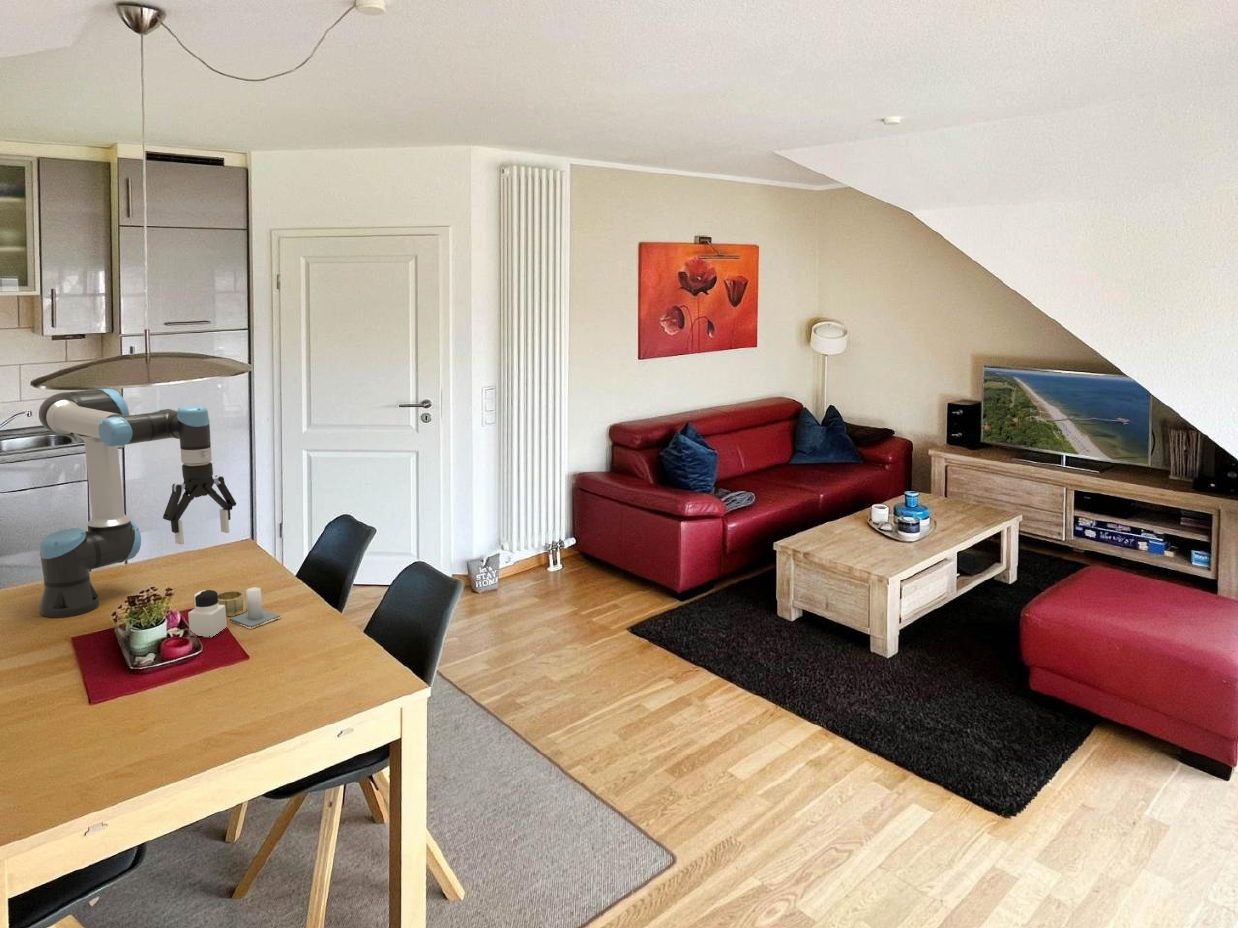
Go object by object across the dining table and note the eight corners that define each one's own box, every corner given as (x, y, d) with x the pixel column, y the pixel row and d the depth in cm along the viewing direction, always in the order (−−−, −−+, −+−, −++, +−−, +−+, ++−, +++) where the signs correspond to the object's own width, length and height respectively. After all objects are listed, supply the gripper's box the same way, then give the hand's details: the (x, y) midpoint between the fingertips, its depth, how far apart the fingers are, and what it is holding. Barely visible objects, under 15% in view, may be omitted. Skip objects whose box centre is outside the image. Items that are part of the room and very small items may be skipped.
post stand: (229, 621, 257) (227, 590, 255) (259, 611, 265) (257, 581, 263) (251, 629, 251) (249, 598, 249) (280, 618, 260) (279, 588, 258)
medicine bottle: (227, 628, 252) (224, 588, 250) (213, 638, 245) (210, 597, 243) (203, 626, 253) (200, 587, 250) (189, 636, 246) (186, 595, 243)
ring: (207, 612, 263) (206, 596, 262) (234, 603, 270) (233, 588, 269) (226, 619, 258) (224, 603, 257) (252, 609, 266) (251, 594, 265)
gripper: (160, 472, 227) (167, 551, 231) (246, 457, 247) (251, 529, 252) (144, 468, 230) (151, 546, 235) (229, 454, 251) (234, 525, 256)
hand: (202, 537), depth 243 cm, fingers open, 13 cm apart
